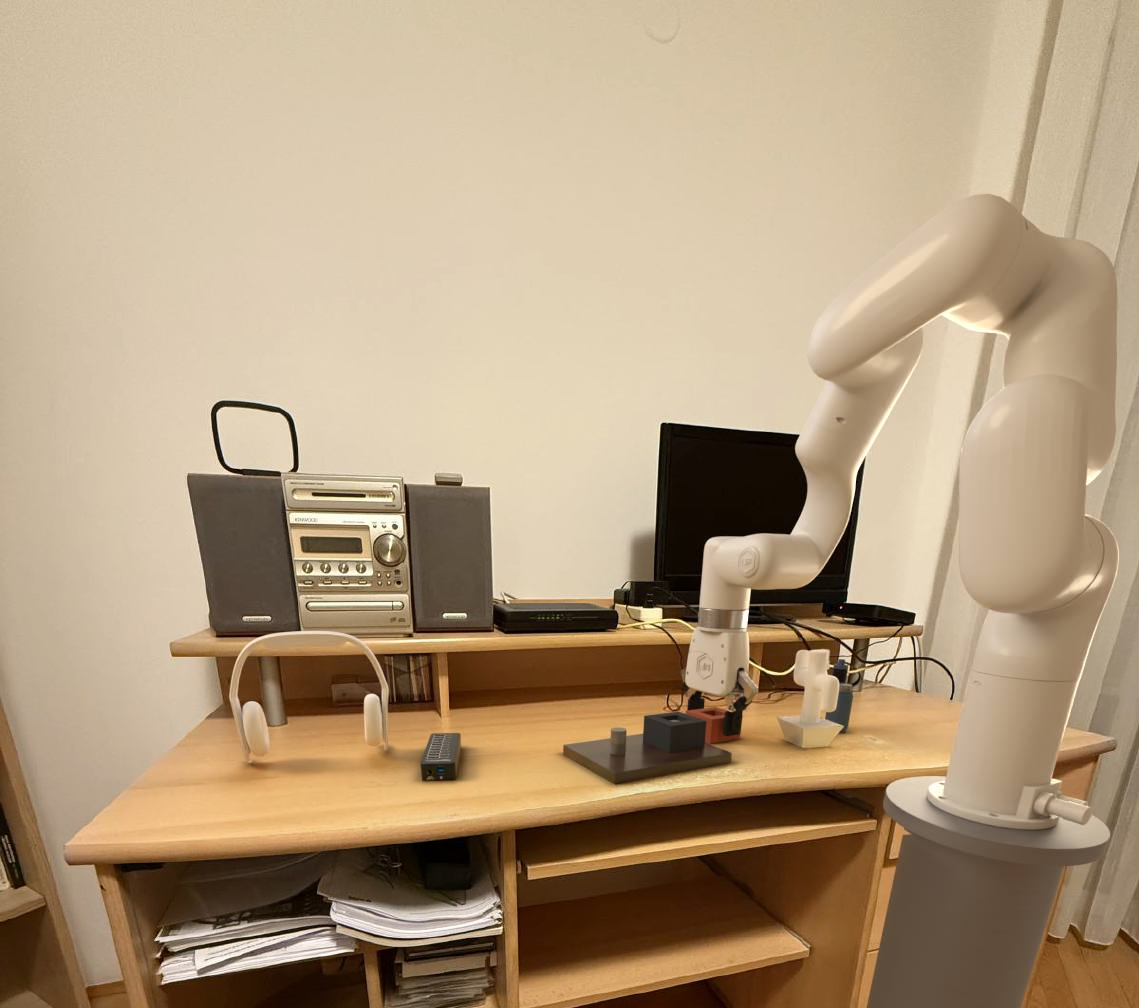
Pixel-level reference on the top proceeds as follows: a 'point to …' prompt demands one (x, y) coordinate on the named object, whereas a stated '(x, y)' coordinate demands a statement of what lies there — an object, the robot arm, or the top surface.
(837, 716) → the vaping device
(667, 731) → the dark grey hollow block
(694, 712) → the red square holed block
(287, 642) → the headset
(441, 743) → the multiport hub
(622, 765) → the pegboard
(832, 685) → the figurine
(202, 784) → the top surface
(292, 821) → the top surface
